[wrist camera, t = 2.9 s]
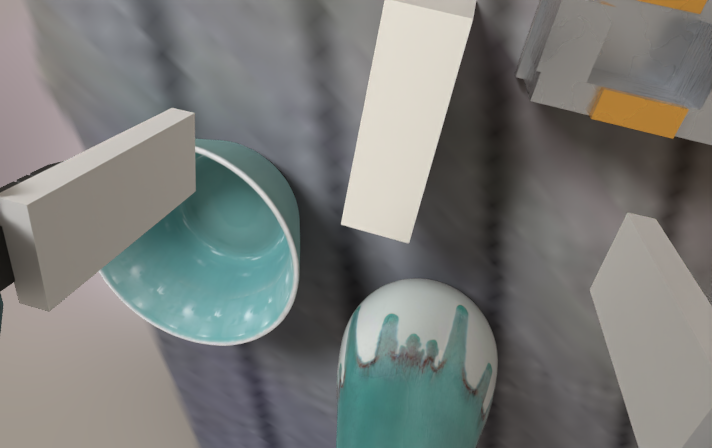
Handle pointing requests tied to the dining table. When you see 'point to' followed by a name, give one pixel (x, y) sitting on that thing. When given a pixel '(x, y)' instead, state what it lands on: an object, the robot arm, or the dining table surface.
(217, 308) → the bowl
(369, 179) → the block
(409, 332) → the vase
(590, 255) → the dining table surface
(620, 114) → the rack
